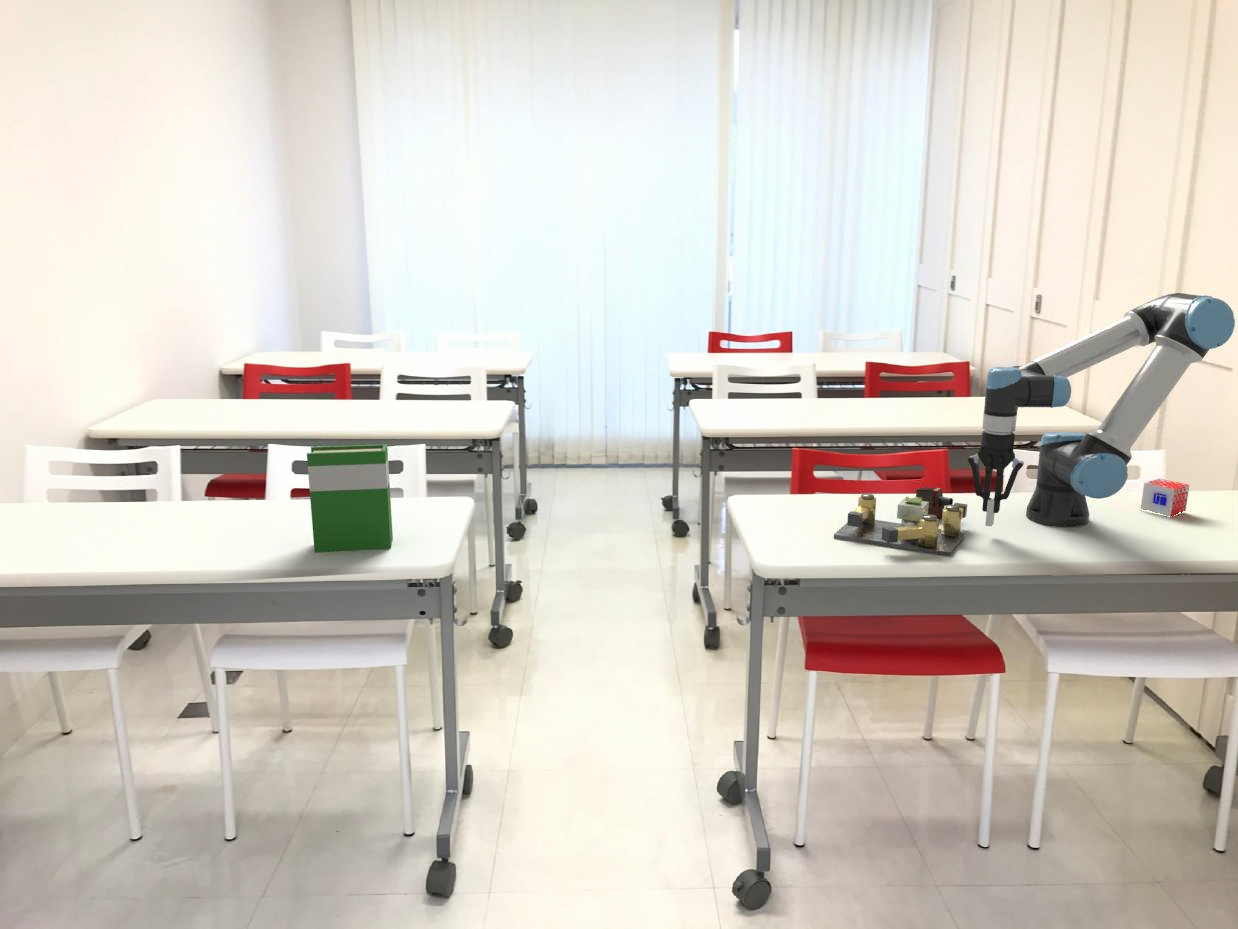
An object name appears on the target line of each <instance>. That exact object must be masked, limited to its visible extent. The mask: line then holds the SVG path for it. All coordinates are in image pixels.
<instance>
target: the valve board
mask: <svg viewBox="0 0 1238 929" xmlns="http://www.w3.org/2000/svg"><path fill="white" fill-rule="evenodd" d="M928 507H929V502H926V501H922V498H919V497H916V496H911V495H906V496H905V498H903V499H902V500H901V501H900V502H899V503H898V504H897V510H896V512H897V513H896V519H899V520H901V522H900V523H899V522H895V521H894V522H893V521H886V520H879V519H875V522H874V523H862V525H861V526H860V527H855V526H848V525H847V522H846V523H845V524H844V525H842V526H841V527H840V528H839V529H838V530H837V531H836V532H835V533H833V539H837V540H844V541H849V542H857V543H861V544H868V545H875V546H882V547H888V548H894V549H900V550H905V551H913V552H918V553H926V554H930V555H937V556H938V555H939V556H944V557H952V555H953V554H954V553H955V552H956V550H957V549H958V547H959V546H960V544H961V543H962V542H963V540H964V538H966V533H965V532H961V531H960V535H958V536H948V535H944V534H942V533H941V528H939V530H938V542H937V546H934V547H927V546H922V545H919V544H918V539H908V540H898V541H897V542H894V543H887V542H886V541H884V540H882V527H888V526H892V527H894V528H895V527H906V526H917V525H919V524H920V518H922V517H923V515H927V514H928Z"/></svg>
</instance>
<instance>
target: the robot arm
mask: <svg viewBox="0 0 1238 929" xmlns="http://www.w3.org/2000/svg"><path fill="white" fill-rule="evenodd" d="M1235 324H1236V319H1235V316H1234V311H1233V309H1232V307H1231V306H1230V305H1229V304H1228V303H1227V302H1226V301H1224V300H1222V299H1220V298H1217V297H1213V296H1211V295H1196V294H1191V293H1190V294H1189V293H1182V292H1181V293H1180V292H1175V293H1169V294H1166V295H1162V296H1159V297H1157V298H1155V299H1152V300H1150V301H1147V302H1145V303H1143V304H1142V305H1139V306H1137V307H1135V308H1133V309H1130V310H1128V311H1127V312H1125V313H1124V314H1123V318H1121V319H1118V320H1117V321H1115V322H1112V323H1111V324H1108V325H1106V326H1104V327H1101V328H1099V329H1098V330H1096V331H1093V332H1092V333H1089V334H1087V335H1085V336H1083V337H1080V338H1078V339H1077V340H1074V341H1072V342H1070V343H1068V344H1065V345H1064V346H1061V347H1059V348H1057V349H1055V350H1054V351H1051V352H1049V353H1047V354H1044V355H1043V356H1040V357H1039V358H1036V359H1034V360H1032V361H1029V362H1028V363H1025V364H1022V365H1010V366H994V367H991V368H990V369H988V371H987V376H986V382H985V396H984V410H983V415H982V426H981V427H982V428H981V429H982V430H983V431H982V432H981V436H980V437H981V438H980V448H979V449H978V451H977V453H976V454H974V455H970V456H969V457H968V458H967V461H968V463H969V465H970V468H971V473H972V479H973V486H974V490H975V495H976V496H978V497H980V498H982V512H985V513H986V515H985V516H986V517H985V527H992V526H993V525H994V522H995V514H998V513H999V512H1000V510H1001V509H1000V508H1001V501H1002V500H1007V499H1008V497H1009V496H1010V495H1011V494H1010V493H1011V491H1012V489H1013V486H1014V483H1015V480H1016V478H1017V475H1018V473H1019V471H1020V470H1021V469H1022V467H1024V464H1025V462H1024V461H1022V460H1020V459H1018V458H1016V454H1015V452H1014V449H1015V448H1014V447H1015V446H1014V445H1015V437H1016V434H1015V433H1014V432H1015V431H1016V428H1017V417H1018V409H1019V408H1051V409H1053V408H1061V407H1065V406H1066V405H1067V404H1068V403H1069V402H1070V399H1071V396H1072V386H1071V382H1070V380H1069V379H1068V377H1071V376H1074V375H1076V374H1078V373H1080V372H1082V371H1084V370H1086V369H1089V368H1091V367H1093V366H1095V365H1097V364H1100V363H1101V362H1104V361H1105V360H1109V359H1110V358H1113V357H1115V356H1117V355H1119V354H1122V353H1124V352H1125V351H1127V350H1129V349H1132V348H1134V347H1136V346H1139V347H1145V346H1149V345H1151V344H1152V343H1155V344H1156V345H1155V347H1154V348H1153V349H1152V351H1151V353H1150V354H1149V356H1148V357H1147V359H1146V360H1145V361H1144V363H1143V364H1142V366H1141V367H1140V368H1139V369H1138V371H1137V372H1136V374H1135V375H1134V377H1133V378H1132V380H1131V381H1130V382H1129V383H1128V385H1127V387H1126V388H1125V390H1124V391H1123V393H1122V394H1121V396H1120V397H1119V398H1118V400H1117V401H1116V403H1115V404H1114V406H1112V408H1111V410H1110V411H1108V412H1109V413H1108V414H1107V415H1106V417H1105V418H1104V419H1103V421H1102V422H1101V424H1100V425H1099V427H1098V428H1097V429H1096V430H1091V431H1087V432H1086V433H1083V432H1071V431H1070V432H1069V431H1068V432H1067V431H1065V432H1064V431H1062V432H1061V431H1057V432H1056V431H1055V432H1054V431H1053V432H1046V433H1044V434H1043V435H1042V436H1041V440H1040V444H1039V454H1038V456H1039V457H1038V463H1037V464H1038V465H1037V473H1036V486H1035V490H1034V492H1033V493H1032V495H1031V497H1030V499H1029V502H1028V504H1027V506H1026V510H1025V511H1026V512H1025V516H1026V518H1027V519H1029V520H1031V521H1033V522H1036V523H1039V524H1042V525H1046V526H1047V525H1048V526H1054V527H1061V528H1062V527H1063V528H1068V527H1069V528H1075V527H1082V526H1085V525H1087V524H1089V521H1090V510H1089V507H1088V506H1089V505H1088V502H1087V498H1086V497H1088V498H1092V499H1096V500H1097V499H1099V500H1100V499H1106V498H1109V497H1112V496H1114V495H1115V494H1117V493H1118V492H1120V490H1121V489H1122V488H1123V487H1124V485H1126V483H1127V480H1128V476H1129V474H1128V470H1129V469H1128V467H1127V465H1128V464H1129V463H1130V461H1132V458H1133V456H1132V452H1131V448H1132V447H1133V445H1134V444H1135V443H1136V441H1137V439H1138V438H1139V437H1140V435H1141V434H1142V433H1143V431H1144V430H1145V428H1146V427H1147V426H1148V424H1149V423H1150V421H1151V420H1152V418H1153V417H1154V416H1155V415H1156V413H1157V411H1158V410H1159V409H1160V407H1162V404H1163V403H1164V402H1165V401H1166V399H1167V397H1169V395H1170V393H1171V392H1172V391H1173V389H1174V388H1175V387H1176V385H1177V384H1178V382H1179V381H1180V379H1181V378H1182V377H1183V375H1184V374H1185V372H1186V371H1187V369H1189V367H1190V365H1192V364H1194V363H1199V362H1201V361H1202V360H1203V359H1204V358H1205V356H1206V355H1207V354H1208V352H1209V351H1210V350H1213V349H1217V348H1218V347H1221V346H1223V345H1224V344H1226V343H1227V342H1228V341H1229V339H1230V338H1232V335H1233V333H1234V331H1235V326H1236V325H1235ZM980 461H981V463H982V464H983V466H984V467H985V473H984V474H985V475H984V485H983V484H982V480H981V479H982V478H981V473H980V466H979V463H980ZM1011 463H1012V465H1011V467H1012V468H1013V469H1012V470H1011V472H1010V475H1009V478H1008V481H1007V483H1006V486H1005V488H1004V491H1002V490H1003V481H1004V472H1005V469H1006V468H1007V467H1008V466H1009V465H1010V464H1011ZM993 470H996V476H995V477H996V478H995V485H994V486H995V487H994V496H993V497H991V492H992V490H991V489H992V480H993V479H992V478H993ZM1002 492H1003V493H1002Z"/></svg>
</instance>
